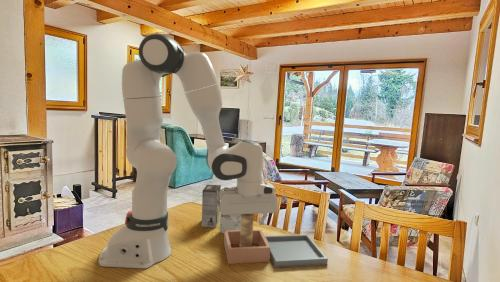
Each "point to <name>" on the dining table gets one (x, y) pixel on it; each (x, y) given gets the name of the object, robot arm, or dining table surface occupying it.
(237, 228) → the supplement box
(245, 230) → the dowel
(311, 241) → the tray
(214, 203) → the coffee box
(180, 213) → the dining table surface
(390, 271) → the dining table surface
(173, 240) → the dining table surface
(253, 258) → the open square box
